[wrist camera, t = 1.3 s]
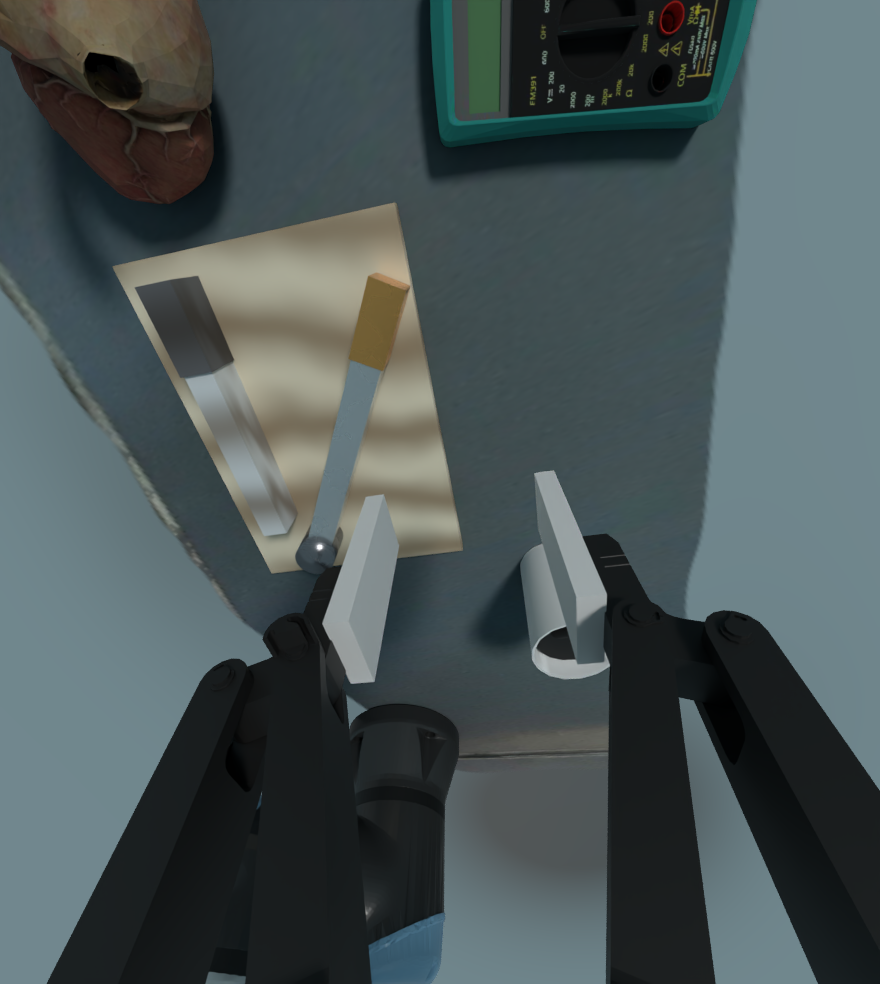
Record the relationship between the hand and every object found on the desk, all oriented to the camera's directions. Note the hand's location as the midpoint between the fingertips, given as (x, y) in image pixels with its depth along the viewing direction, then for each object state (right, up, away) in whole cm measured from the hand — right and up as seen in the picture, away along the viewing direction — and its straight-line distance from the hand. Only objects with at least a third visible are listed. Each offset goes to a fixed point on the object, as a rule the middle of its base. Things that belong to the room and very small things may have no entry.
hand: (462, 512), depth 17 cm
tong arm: (-8, +5, +16) cm, 18 cm away
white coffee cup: (+10, -6, +24) cm, 26 cm away
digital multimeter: (+6, +25, +5) cm, 26 cm away
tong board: (-11, +6, +17) cm, 20 cm away
